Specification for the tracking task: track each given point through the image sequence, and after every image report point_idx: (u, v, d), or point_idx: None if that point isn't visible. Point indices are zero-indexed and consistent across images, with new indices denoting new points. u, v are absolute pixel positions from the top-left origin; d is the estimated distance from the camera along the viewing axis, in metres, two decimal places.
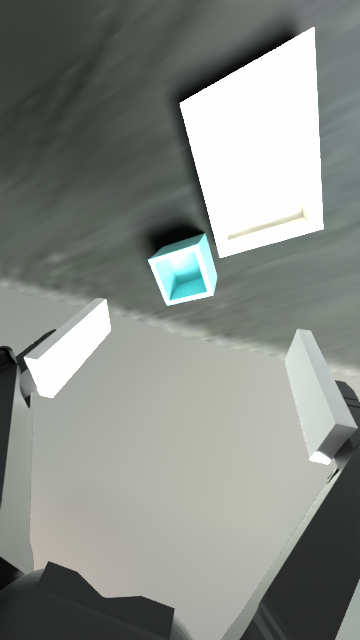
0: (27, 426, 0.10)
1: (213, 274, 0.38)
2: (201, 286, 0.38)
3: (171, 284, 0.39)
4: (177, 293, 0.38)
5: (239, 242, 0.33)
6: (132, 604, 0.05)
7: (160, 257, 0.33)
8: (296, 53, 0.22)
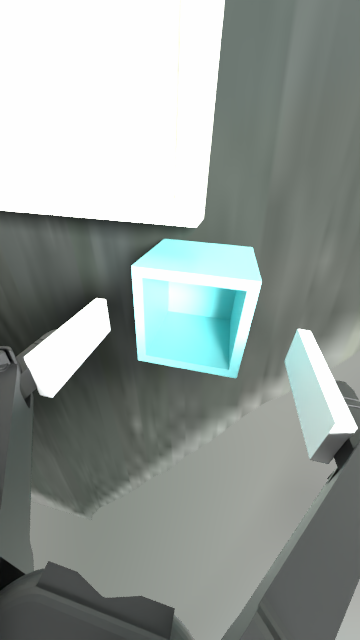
0: (27, 426, 0.10)
1: (234, 254, 0.17)
2: (241, 290, 0.17)
3: (213, 339, 0.20)
4: (231, 341, 0.18)
5: (178, 169, 0.14)
6: (132, 604, 0.05)
7: (138, 341, 0.17)
8: None
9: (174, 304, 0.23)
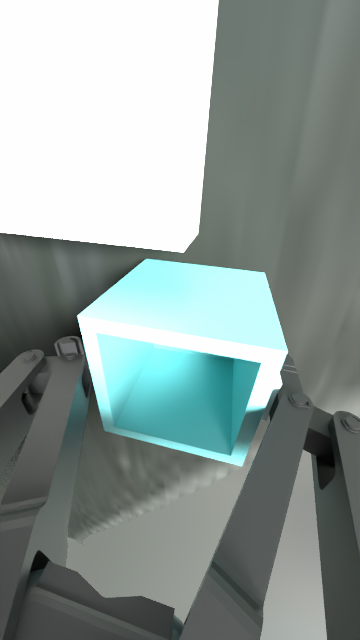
0: (82, 415, 0.10)
1: (240, 288, 0.12)
2: None
3: (210, 396, 0.15)
4: (234, 406, 0.13)
5: (153, 163, 0.09)
6: (132, 604, 0.05)
7: (102, 410, 0.12)
8: None
9: None
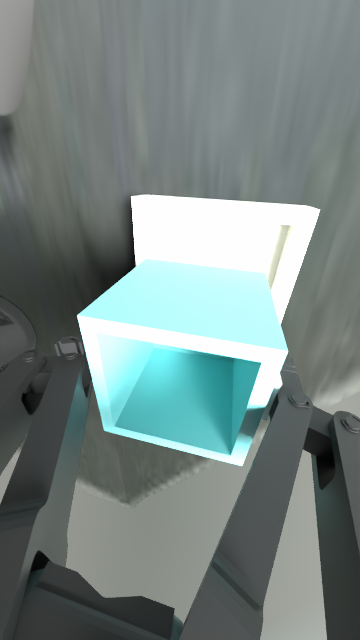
0: (82, 416, 0.10)
1: (240, 287, 0.12)
2: None
3: (210, 396, 0.15)
4: (234, 406, 0.13)
5: None
6: (132, 604, 0.05)
7: (102, 410, 0.12)
8: (142, 213, 0.25)
9: None
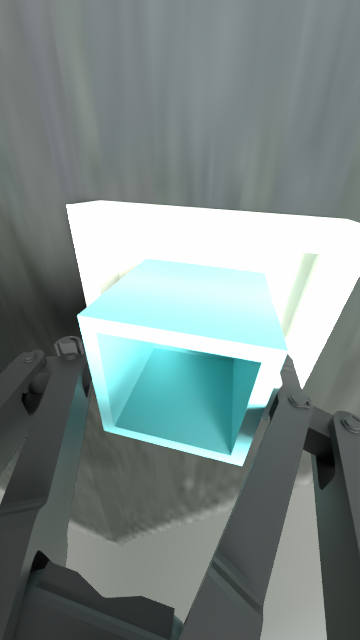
0: (82, 416, 0.10)
1: (240, 287, 0.12)
2: None
3: (210, 396, 0.15)
4: (234, 406, 0.13)
5: None
6: (132, 604, 0.05)
7: (102, 410, 0.12)
8: (85, 231, 0.16)
9: None
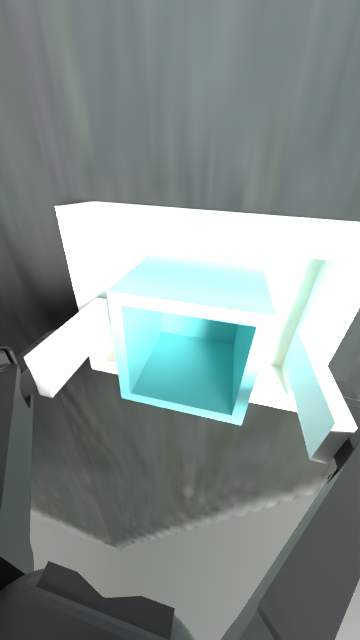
0: (27, 426, 0.10)
1: (239, 272, 0.14)
2: None
3: (213, 371, 0.17)
4: (234, 376, 0.15)
5: None
6: (132, 604, 0.05)
7: (121, 377, 0.14)
8: (76, 235, 0.15)
9: (169, 324, 0.20)
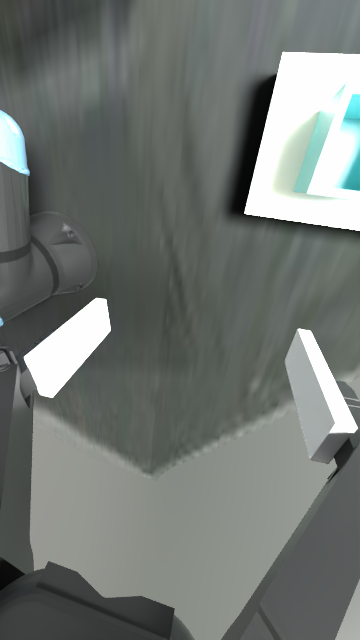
0: (27, 426, 0.10)
1: None
2: None
3: None
4: None
5: None
6: (132, 604, 0.05)
7: (317, 169, 0.21)
8: (289, 77, 0.22)
9: None
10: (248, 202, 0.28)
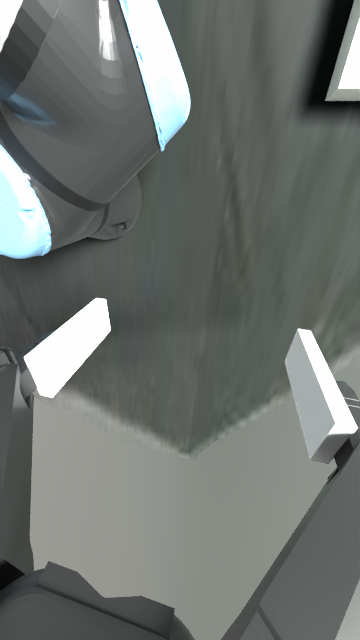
0: (27, 426, 0.10)
1: None
2: None
3: None
4: None
5: None
6: (132, 604, 0.05)
7: None
8: None
9: None
10: (345, 71, 0.24)
